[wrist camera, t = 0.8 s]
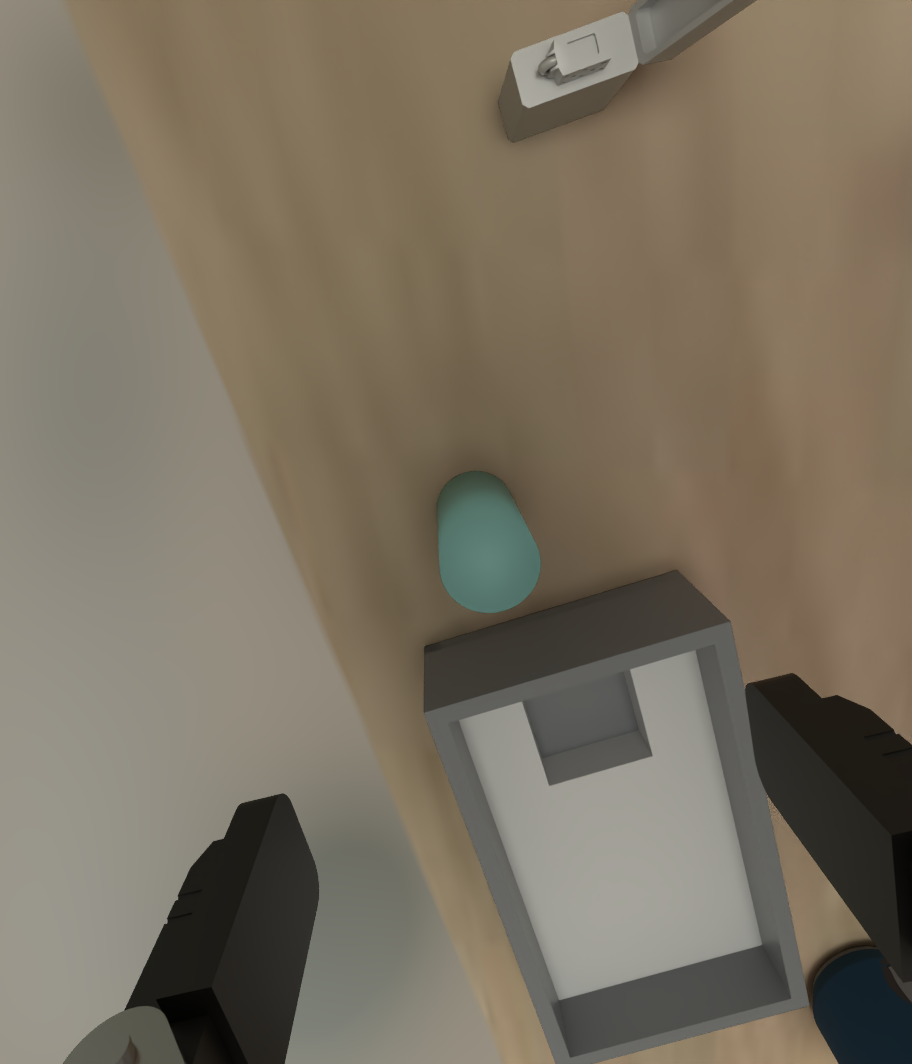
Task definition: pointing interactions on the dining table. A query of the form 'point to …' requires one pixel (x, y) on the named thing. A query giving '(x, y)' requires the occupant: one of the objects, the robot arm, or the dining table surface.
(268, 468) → the dining table surface
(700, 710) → the bin
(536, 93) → the lighter
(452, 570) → the peg
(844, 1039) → the soda can
